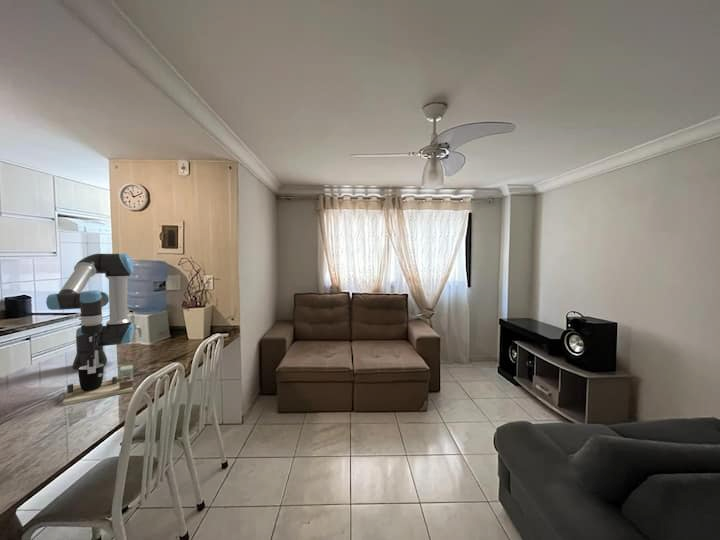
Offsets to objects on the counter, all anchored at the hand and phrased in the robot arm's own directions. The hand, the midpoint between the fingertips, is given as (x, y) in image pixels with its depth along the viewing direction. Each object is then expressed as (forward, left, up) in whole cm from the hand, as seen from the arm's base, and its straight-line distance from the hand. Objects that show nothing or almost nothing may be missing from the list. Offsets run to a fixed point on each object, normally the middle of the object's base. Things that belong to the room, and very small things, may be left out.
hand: (93, 368), depth 147 cm
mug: (+1, 0, -9) cm, 9 cm away
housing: (-5, +12, -9) cm, 16 cm away
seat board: (+2, +3, -10) cm, 11 cm away
